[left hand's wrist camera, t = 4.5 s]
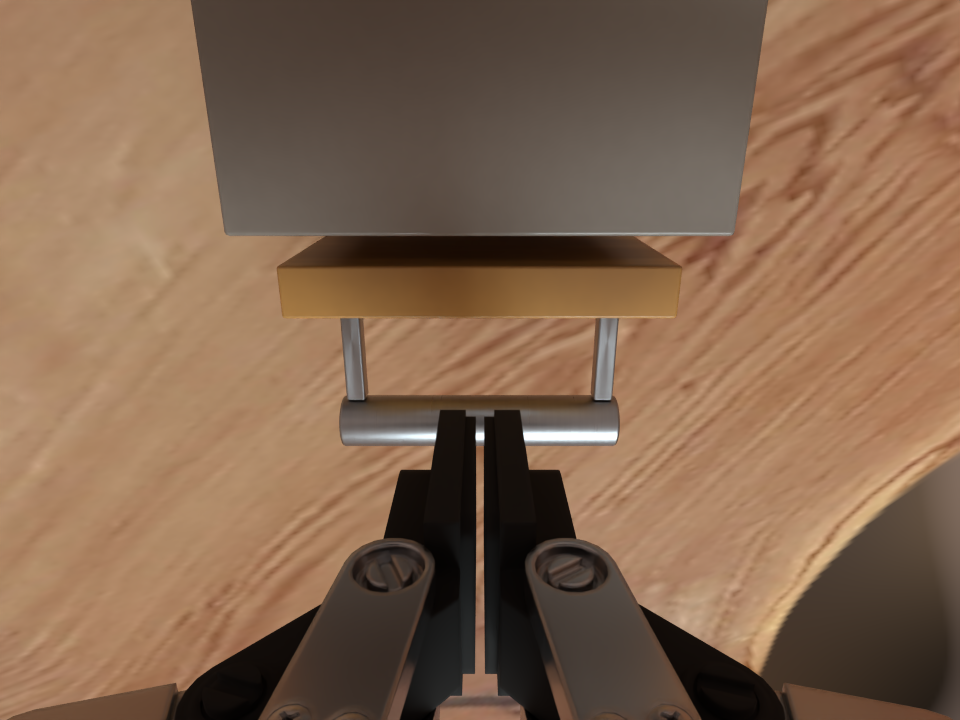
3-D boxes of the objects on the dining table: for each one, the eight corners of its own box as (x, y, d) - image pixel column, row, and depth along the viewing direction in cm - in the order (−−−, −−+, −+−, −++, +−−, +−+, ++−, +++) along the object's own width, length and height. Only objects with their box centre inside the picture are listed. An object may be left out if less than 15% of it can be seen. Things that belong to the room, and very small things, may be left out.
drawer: (591, 394, 24) (651, 532, 15) (367, 395, 24) (307, 532, 15) (653, -485, 15) (862, -1235, 7) (305, -486, 15) (96, -1237, 7)
